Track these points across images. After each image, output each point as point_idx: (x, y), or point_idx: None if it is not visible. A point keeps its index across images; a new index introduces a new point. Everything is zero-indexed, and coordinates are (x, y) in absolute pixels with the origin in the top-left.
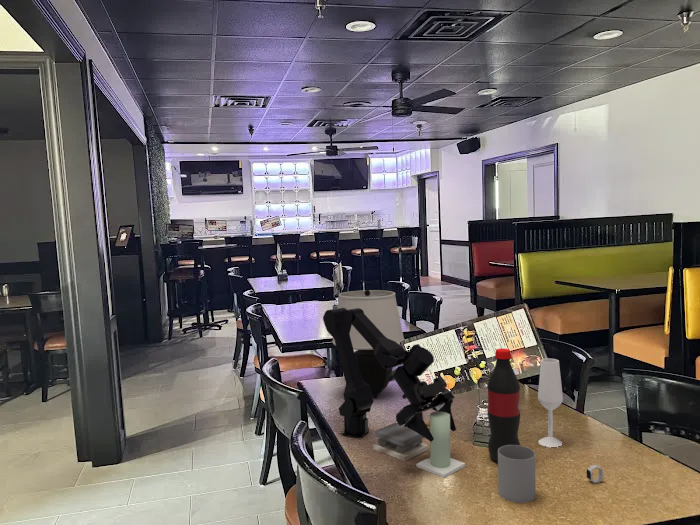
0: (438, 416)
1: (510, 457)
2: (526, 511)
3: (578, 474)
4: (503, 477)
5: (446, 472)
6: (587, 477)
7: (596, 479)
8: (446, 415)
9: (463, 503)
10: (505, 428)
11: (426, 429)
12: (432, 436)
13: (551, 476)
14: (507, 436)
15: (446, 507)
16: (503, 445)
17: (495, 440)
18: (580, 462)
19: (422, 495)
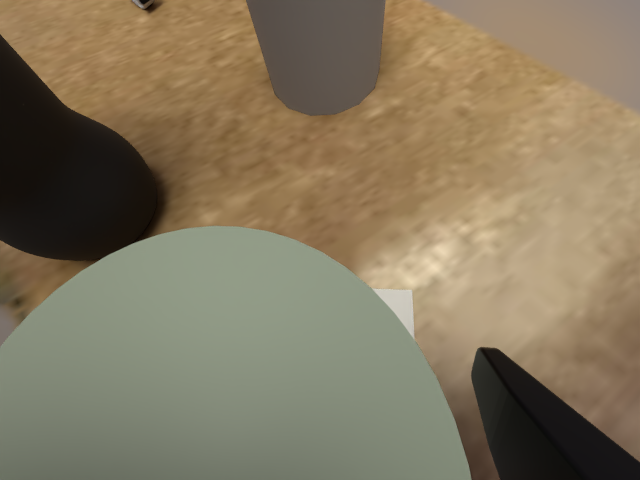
0: (291, 455)
1: (261, 7)
2: (394, 19)
3: (123, 38)
4: (382, 10)
5: (384, 294)
6: (145, 1)
7: (136, 2)
8: (126, 320)
9: (505, 133)
10: (12, 52)
11: (633, 468)
12: (497, 365)
13: (168, 68)
14: (54, 94)
15: (580, 153)
16: (104, 138)
17: (81, 166)
18: (47, 63)
19: (606, 266)
